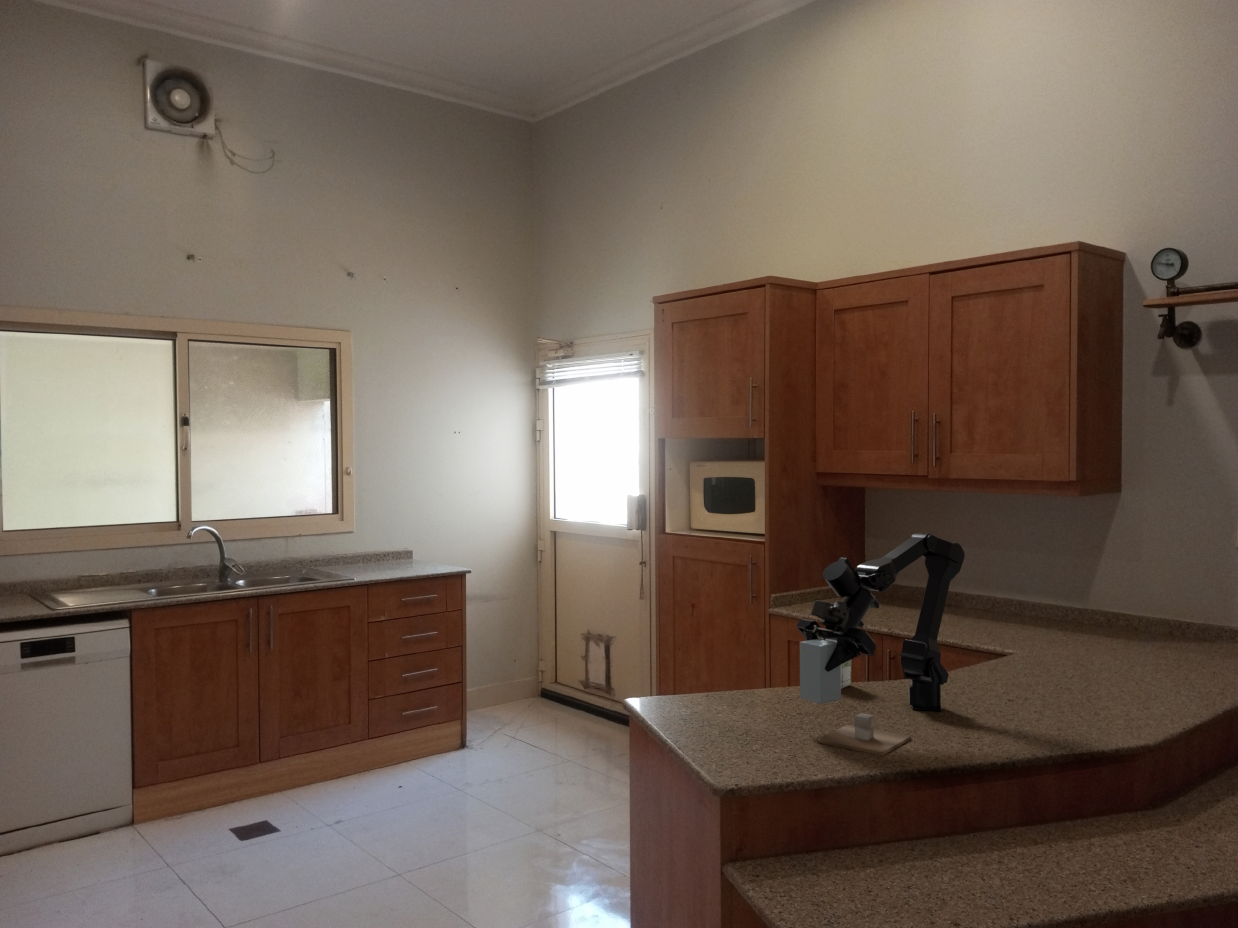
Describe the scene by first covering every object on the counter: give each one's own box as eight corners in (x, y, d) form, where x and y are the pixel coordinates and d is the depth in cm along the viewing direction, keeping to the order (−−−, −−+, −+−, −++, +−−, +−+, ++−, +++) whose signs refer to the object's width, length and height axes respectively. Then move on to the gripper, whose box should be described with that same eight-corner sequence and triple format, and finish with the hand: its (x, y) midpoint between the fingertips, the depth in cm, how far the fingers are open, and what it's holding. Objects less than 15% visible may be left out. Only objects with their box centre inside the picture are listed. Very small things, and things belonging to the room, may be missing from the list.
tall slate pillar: (820, 694, 200) (819, 638, 200) (840, 699, 195) (840, 642, 195) (800, 697, 197) (799, 641, 197) (820, 703, 192) (819, 646, 192)
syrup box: (831, 682, 241) (830, 626, 241) (852, 685, 237) (852, 628, 237) (821, 686, 236) (820, 629, 236) (842, 689, 232) (842, 631, 233)
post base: (847, 727, 198) (847, 703, 198) (911, 738, 189) (910, 714, 190) (816, 742, 188) (816, 716, 188) (882, 755, 179) (882, 728, 179)
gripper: (801, 582, 206) (765, 637, 200) (866, 591, 191) (828, 650, 184) (827, 614, 210) (792, 668, 204) (892, 625, 195) (856, 685, 189)
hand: (815, 667), depth 195 cm, fingers closed on tall slate pillar, 6 cm apart
